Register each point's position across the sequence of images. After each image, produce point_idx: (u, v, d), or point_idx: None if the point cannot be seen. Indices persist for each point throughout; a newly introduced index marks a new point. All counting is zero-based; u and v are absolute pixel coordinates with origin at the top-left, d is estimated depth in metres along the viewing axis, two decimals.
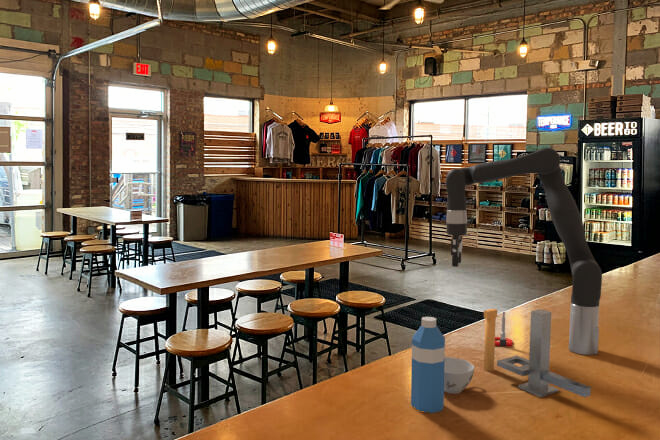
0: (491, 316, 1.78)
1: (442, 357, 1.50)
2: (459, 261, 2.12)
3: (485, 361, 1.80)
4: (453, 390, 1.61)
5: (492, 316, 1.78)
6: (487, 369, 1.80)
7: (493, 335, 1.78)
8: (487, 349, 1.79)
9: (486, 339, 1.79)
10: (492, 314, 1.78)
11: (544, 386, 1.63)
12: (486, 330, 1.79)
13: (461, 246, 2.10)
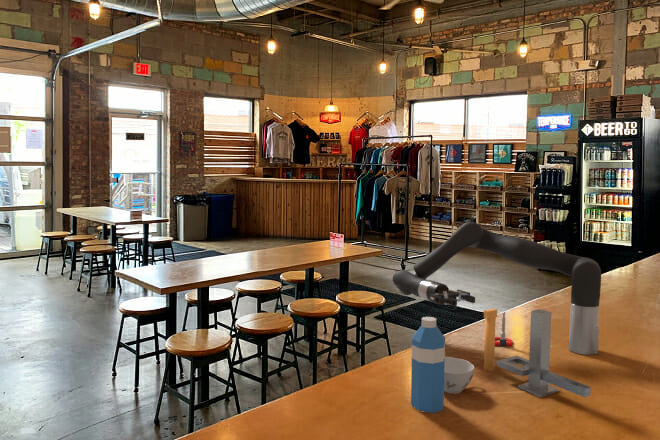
0: (491, 316, 1.78)
1: (442, 357, 1.50)
2: (472, 298, 1.91)
3: (485, 361, 1.80)
4: (453, 390, 1.61)
5: (492, 316, 1.78)
6: (487, 369, 1.80)
7: (493, 335, 1.78)
8: (487, 349, 1.79)
9: (486, 339, 1.79)
10: (492, 314, 1.78)
11: (544, 386, 1.63)
12: (486, 330, 1.79)
13: (456, 292, 1.95)
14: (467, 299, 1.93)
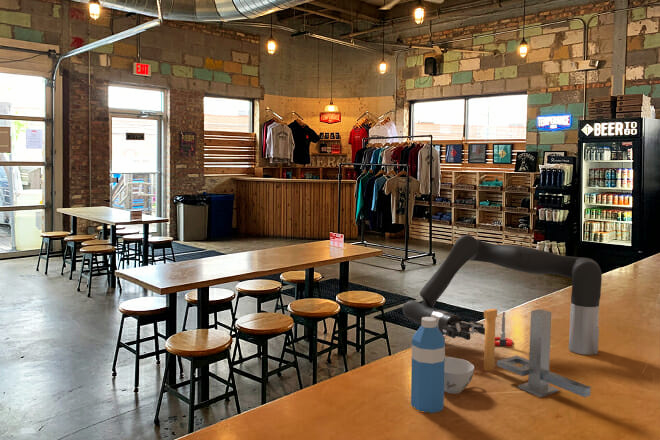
0: (491, 316, 1.78)
1: (442, 357, 1.50)
2: None
3: (485, 361, 1.80)
4: (453, 390, 1.61)
5: (492, 316, 1.78)
6: (487, 369, 1.80)
7: (493, 335, 1.78)
8: (487, 349, 1.79)
9: (486, 339, 1.79)
10: (492, 314, 1.78)
11: (544, 386, 1.63)
12: (486, 330, 1.79)
13: (469, 324, 1.91)
14: (480, 331, 1.89)
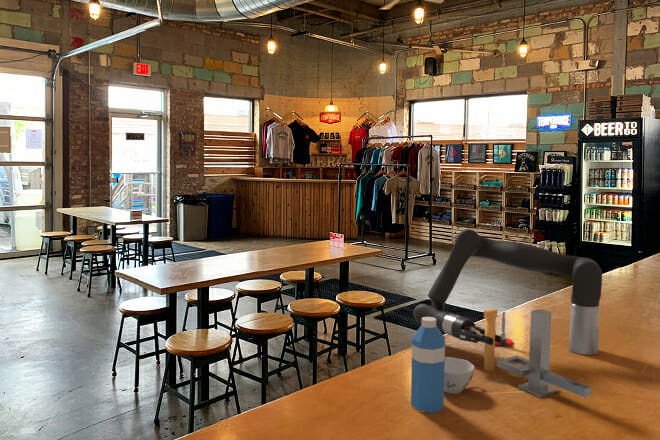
0: (491, 316, 1.78)
1: (442, 357, 1.50)
2: (498, 337, 1.79)
3: (485, 361, 1.80)
4: (453, 390, 1.61)
5: (492, 316, 1.78)
6: (487, 369, 1.80)
7: (493, 335, 1.78)
8: (487, 349, 1.79)
9: None
10: (492, 314, 1.78)
11: (544, 386, 1.63)
12: (486, 330, 1.79)
13: (482, 329, 1.84)
14: None
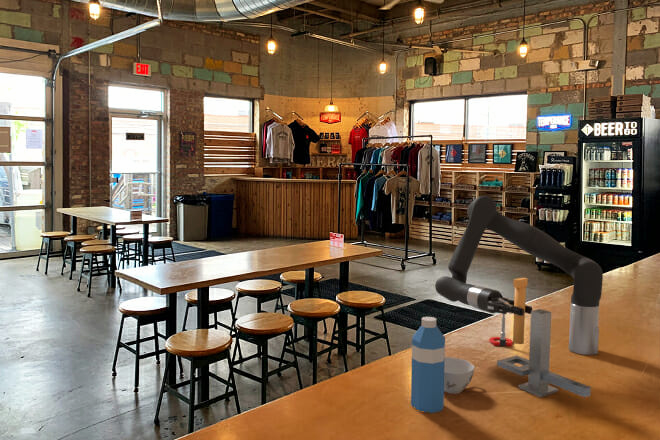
0: (521, 285, 1.67)
1: (442, 357, 1.50)
2: (529, 308, 1.68)
3: (514, 333, 1.69)
4: (453, 390, 1.61)
5: (522, 285, 1.68)
6: (517, 342, 1.69)
7: (523, 305, 1.68)
8: (517, 320, 1.68)
9: None
10: (522, 283, 1.68)
11: (544, 386, 1.63)
12: (516, 300, 1.68)
13: (510, 300, 1.74)
14: None
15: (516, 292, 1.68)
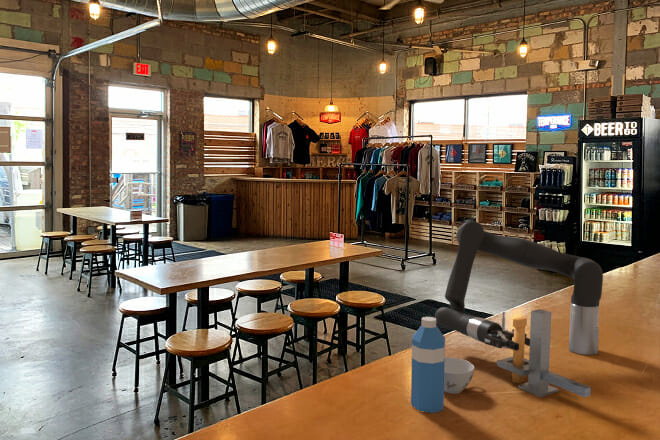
0: (520, 325, 1.69)
1: (442, 357, 1.50)
2: None
3: None
4: (453, 390, 1.61)
5: (522, 325, 1.69)
6: (516, 381, 1.70)
7: (522, 345, 1.69)
8: (516, 359, 1.70)
9: None
10: (521, 323, 1.69)
11: (544, 386, 1.63)
12: (515, 340, 1.69)
13: (511, 333, 1.75)
14: None
15: (515, 332, 1.69)
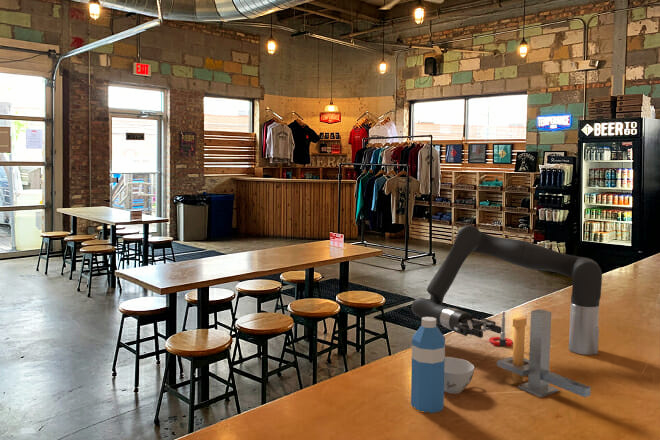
0: (520, 325, 1.69)
1: (442, 357, 1.50)
2: (498, 328, 1.82)
3: None
4: (453, 390, 1.61)
5: (521, 325, 1.69)
6: (516, 381, 1.70)
7: (522, 345, 1.69)
8: (516, 359, 1.70)
9: (515, 349, 1.70)
10: (521, 323, 1.69)
11: (544, 386, 1.63)
12: (515, 340, 1.69)
13: (481, 321, 1.86)
14: (493, 329, 1.84)
15: (515, 332, 1.69)
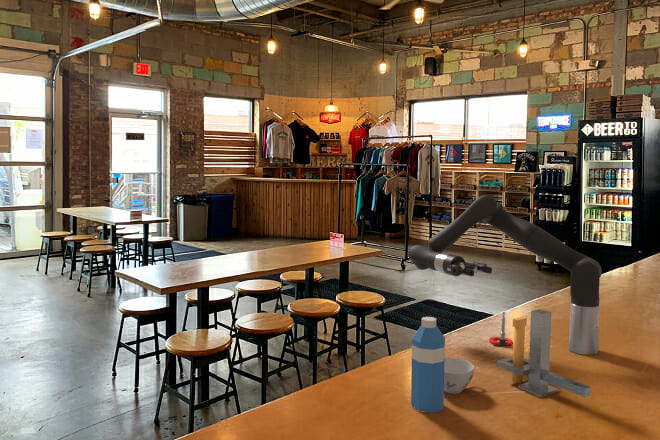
0: (520, 325, 1.69)
1: (442, 357, 1.50)
2: (489, 268, 1.92)
3: None
4: (453, 390, 1.61)
5: (521, 325, 1.69)
6: (516, 381, 1.70)
7: (522, 345, 1.69)
8: (516, 359, 1.70)
9: (515, 349, 1.70)
10: (521, 323, 1.69)
11: (544, 386, 1.63)
12: (515, 340, 1.69)
13: (473, 263, 1.97)
14: (484, 270, 1.94)
15: (515, 332, 1.69)
